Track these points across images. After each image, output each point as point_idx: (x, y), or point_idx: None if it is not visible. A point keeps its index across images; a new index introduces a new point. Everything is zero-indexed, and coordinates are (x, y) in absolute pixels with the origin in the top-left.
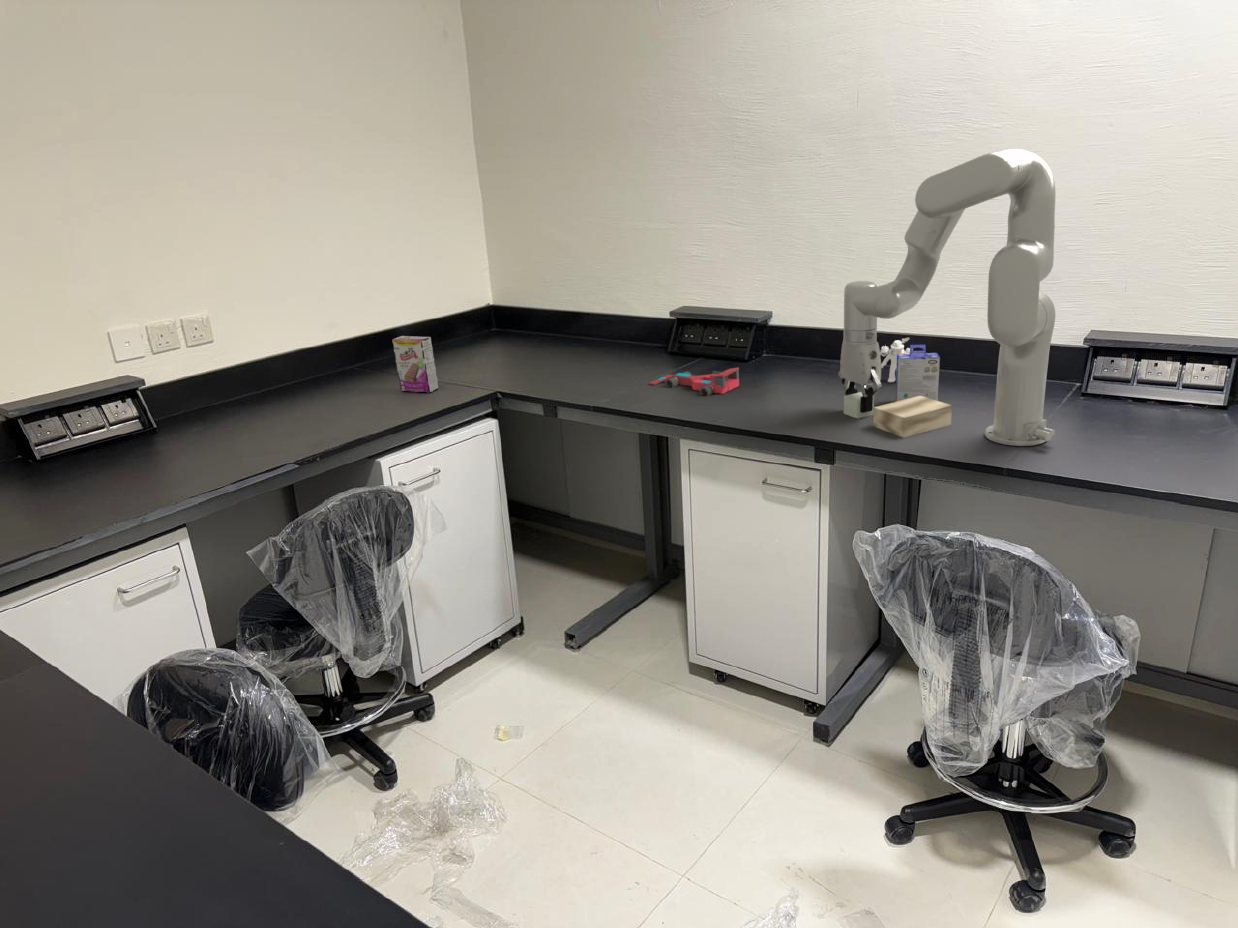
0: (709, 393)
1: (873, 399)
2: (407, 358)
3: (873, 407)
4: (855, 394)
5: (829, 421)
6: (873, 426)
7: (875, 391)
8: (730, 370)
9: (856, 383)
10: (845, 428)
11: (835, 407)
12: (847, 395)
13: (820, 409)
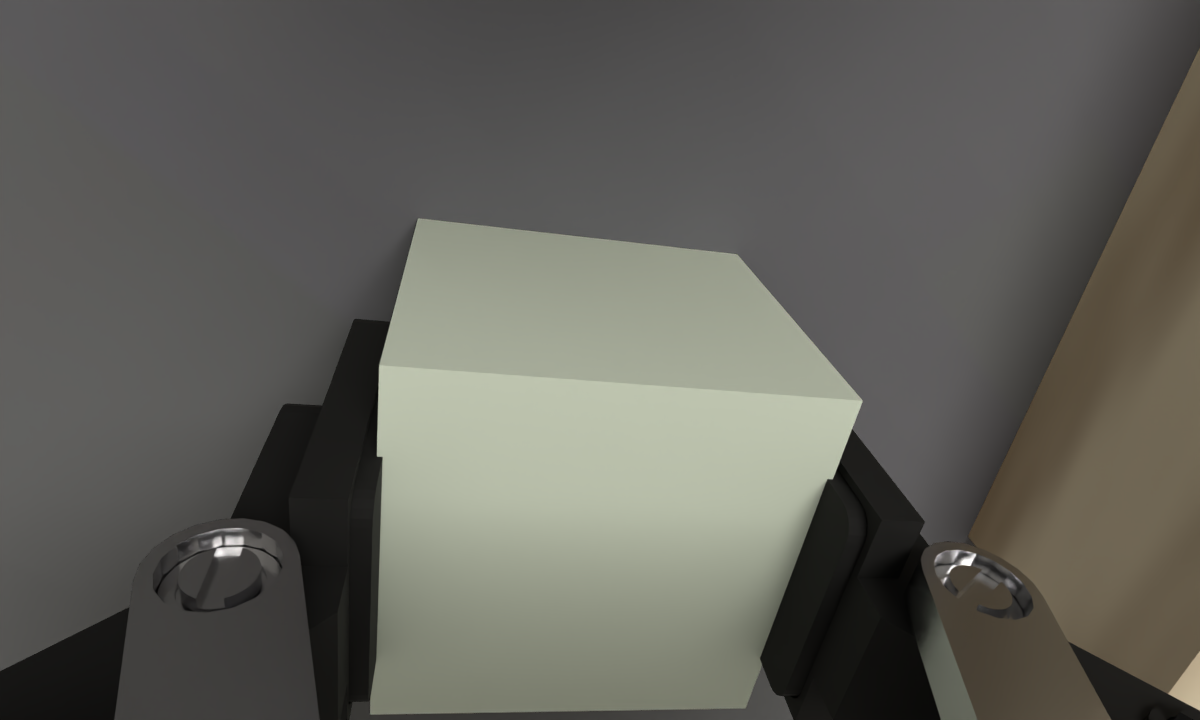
0: None
1: (833, 384)
2: None
3: (771, 304)
4: (448, 543)
5: (520, 716)
6: (972, 537)
7: (1160, 712)
8: None
9: (311, 664)
10: (777, 717)
11: (74, 403)
12: (395, 670)
13: (48, 582)
